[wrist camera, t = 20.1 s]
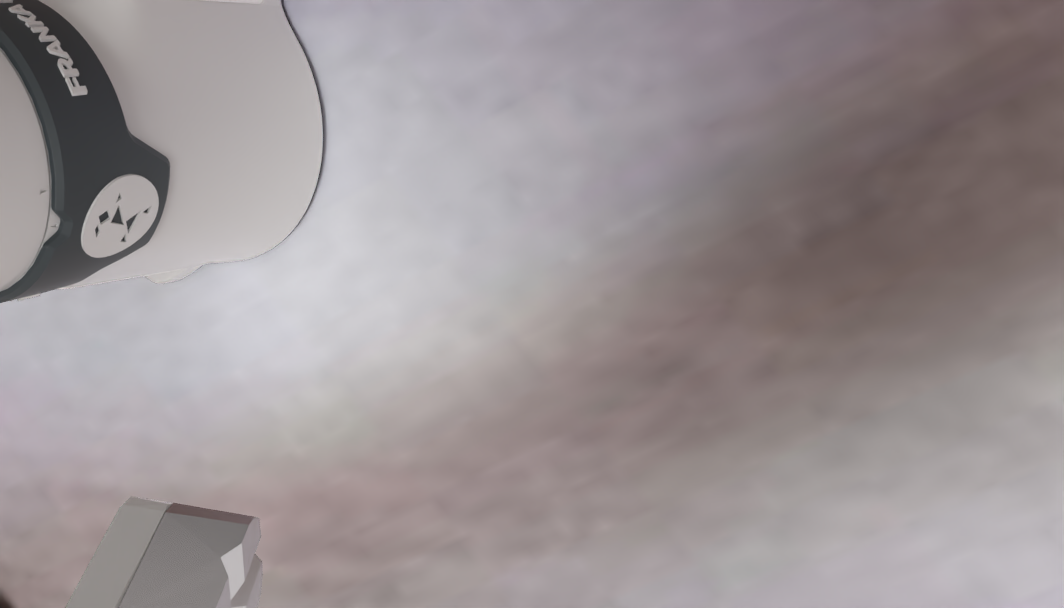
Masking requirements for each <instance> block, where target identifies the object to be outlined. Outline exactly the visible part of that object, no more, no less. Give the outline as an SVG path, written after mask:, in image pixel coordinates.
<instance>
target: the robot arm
mask: <svg viewBox="0 0 1064 608" xmlns="http://www.w3.org/2000/svg"><path fill="white" fill-rule="evenodd" d="M322 150H323V126H322V114H321V107H320V101H319V96H318V92H317V88H316V84H315V81H314V77H313V74H312V71H311V69H310V66H309V63H308V61H307V58H306V56H305V54H304V52H303V50H302V48H301V46H300V44H299V42H298V40H297V38H296V36H295V34H294V32H293V31H292V29H291V27H290V25H289V23H288V21H287V18H286V16H285V14H284V11H283V8H282V4H281V0H0V303H2V302H6V301H12V300H14V299H17V301H20V300H25V299H29V298H33V297H38V296H40V293H44V292H47V291H51V290H54V289H70V288H76V287H82V286H89V285H95V284H101V283H107V282H113V281H119V280H125V279H130V278H136V277H142V276H145V277H146V278H148V279H149V280H150V281H152V282H154V283H157V284H163V283H169V282H175V281H178V280H181V279H183V278H185V277H187V276H188V275H190V274H191V273H193V272H194V271H196V270H197V269H199V268H200V267H201V266H203V265H205V264H211V263H223V262H237V261H243V260H248V259H251V258H254V257H257V256H259V255H262V254H264V253H266V252H268V251H269V250H271V249H273V248H274V247H275V246H277V245H278V244H280V243H281V242H282V241H283V240H284V239H285V238H286V237H287V236H288V235H289V234H290V233H291V232H292V231H293V229H294V228H295V227H296V226H297V224H298V223H299V221H300V220H301V218H302V217H303V215H304V213H305V212H306V210H307V208H308V206H309V203H310V201H311V199H312V196H313V194H314V191H315V188H316V184H317V181H318V177H319V172H320V166H321V160H322ZM260 538H261V531H260V520H259V518H257V517H253V516H247V515H241V514H235V513H229V512H224V511H218V510H212V509H206V508H200V507H194V506H188V505H183V504H177V503H170V502H163V501H157V500H151V499H144V498H138V497H130V498H129V499H128V500H127V501H126V502H125V503H124V504H123V505H122V506H121V507H120V508H119V510H118V512H117V514H116V515H115V517H114V519H113V521H112V523H111V525H110V526H109V528H108V530H107V532H106V534H105V536H104V537H103V539H102V541H101V543H100V545H99V547H98V548H97V550H96V552H95V554H94V556H93V558H92V559H91V561H90V563H89V565H88V567H87V569H86V570H85V572H84V574H83V576H82V578H81V580H80V581H79V583H78V585H77V587H76V589H75V590H74V592H73V594H72V596H71V598H70V600H69V601H68V603H67V605H66V607H65V608H258V604H259V599H260V595H261V587H262V576H263V571H262V561H261V560H260V559H259V557H258V556H257V555H256V554H255V552H256V549H257V546H258V543H259V541H260Z"/></svg>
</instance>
